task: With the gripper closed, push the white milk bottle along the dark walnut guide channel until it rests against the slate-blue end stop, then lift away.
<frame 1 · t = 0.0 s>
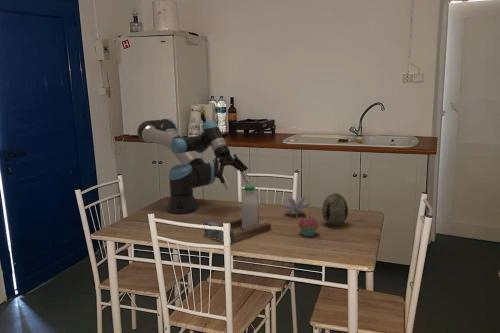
hand: (237, 185, 221), 15 cm above the table, tool tilted 35°, fingers open, 13 cm apart
water lily: (296, 216, 222), on the table
guide channel: (238, 232, 199), on the table
cupcake: (308, 234, 196), on the table
milk bottle: (250, 229, 204), on the table
decorative egg: (334, 225, 207), on the table
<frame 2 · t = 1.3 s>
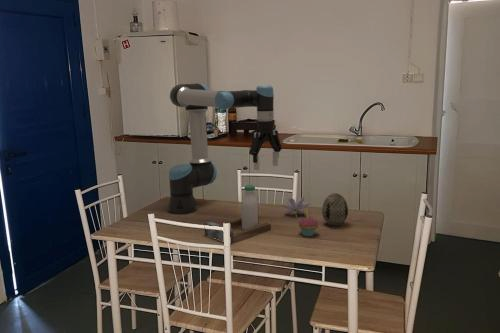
hand: (266, 167, 207), 27 cm above the table, tool pointing down, fingers open, 12 cm apart
nothing on the table moved.
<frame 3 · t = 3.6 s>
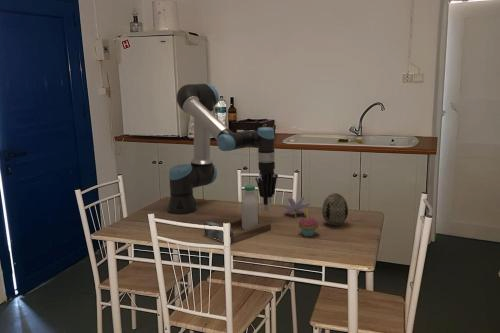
hand: (267, 210, 210), 6 cm above the table, tool pointing down, fingers closed
nothing on the table moved.
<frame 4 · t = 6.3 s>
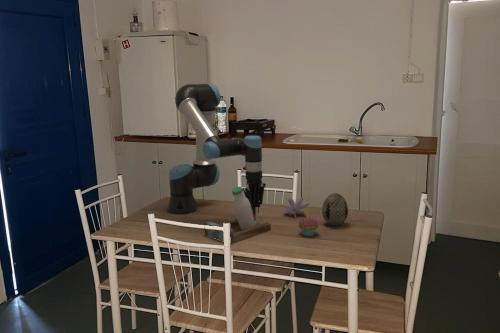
hand: (255, 220, 206), 3 cm above the table, tool pointing down, fingers closed
milk bottle: (248, 226, 203), point 1 cm above the table, touching gripper, hand
everything else where it was.
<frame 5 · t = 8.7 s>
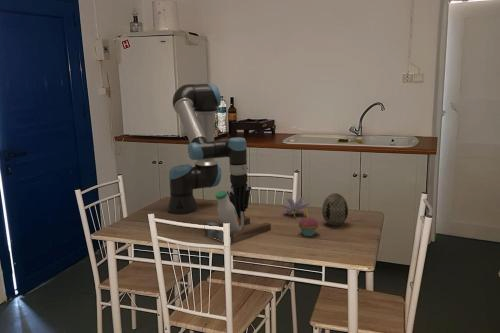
hand: (240, 225, 199), 3 cm above the table, tool pointing down, fingers closed
milk bottle: (233, 232, 197), point 1 cm above the table, touching gripper, hand
everything else where it was.
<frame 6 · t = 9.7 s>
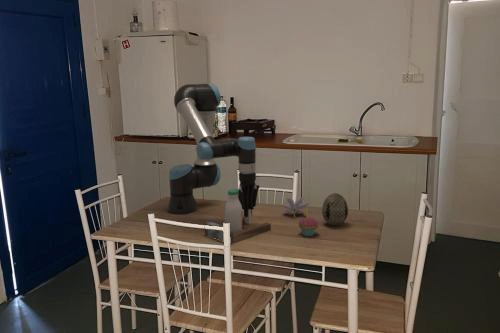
hand: (248, 223, 203), 3 cm above the table, tool pointing down, fingers closed
milk bottle: (234, 234, 197), on the table
everything else where it was.
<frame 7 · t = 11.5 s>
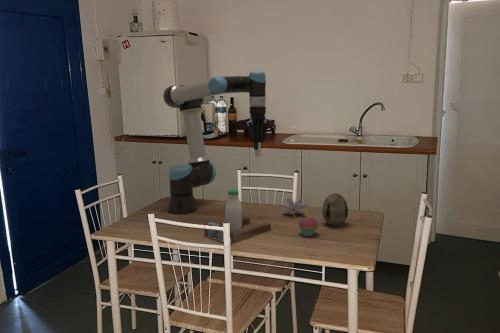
hand: (257, 156, 212), 31 cm above the table, tool pointing down, fingers closed
nothing on the table moved.
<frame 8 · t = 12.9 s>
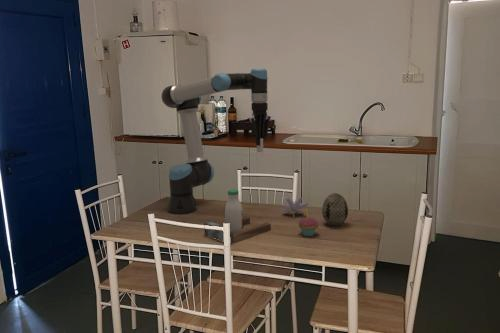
hand: (260, 151, 215), 32 cm above the table, tool pointing down, fingers closed
at the end: milk bottle inside the target area (2.8 cm from its centre), on the table; milk bottle tilted 0°; milk bottle moved 10.2 cm from its start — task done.
